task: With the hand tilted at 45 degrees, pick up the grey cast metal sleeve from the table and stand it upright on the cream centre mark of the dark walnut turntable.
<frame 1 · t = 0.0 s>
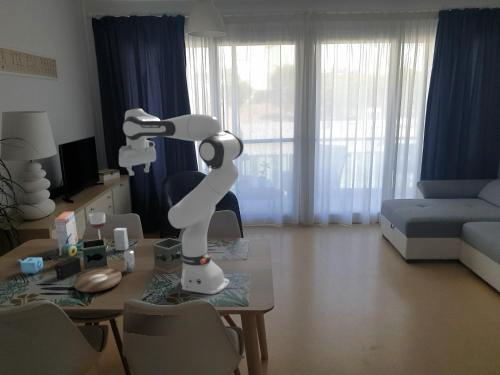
hand: (139, 173, 174), 48 cm above the table, tool pointing down, fingers open, 8 cm apart
turntable platter: (98, 279, 169), point 2 cm above the table, hinge at 0.0°
cast sleeve: (130, 270, 182), on the table
teapot: (31, 272, 183), on the table
cracker box: (69, 250, 210), on the table
decorative fish: (73, 261, 195), on the table
digital camera: (68, 274, 180), on the table
wineglass: (100, 247, 213), on the table
skincare box: (122, 249, 210), on the table
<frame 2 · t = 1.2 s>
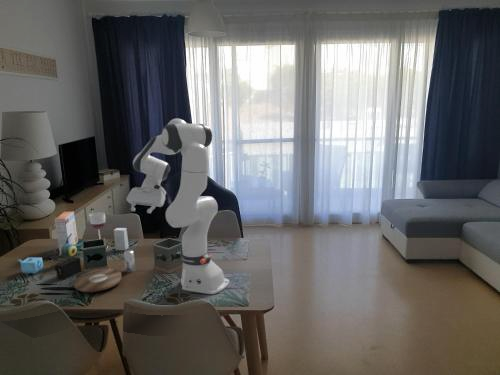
hand: (140, 211, 187), 27 cm above the table, tool tilted 45°, fingers open, 8 cm apart
nothing on the table moved.
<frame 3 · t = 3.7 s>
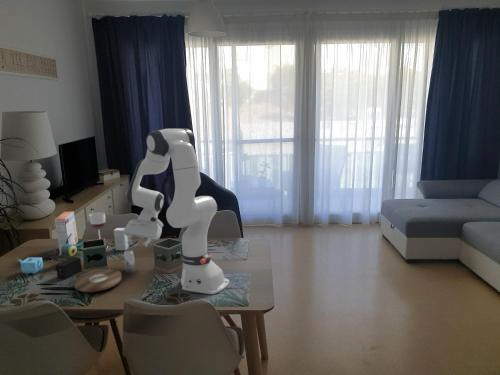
hand: (136, 244, 186), 11 cm above the table, tool tilted 45°, fingers open, 8 cm apart
nothing on the table moved.
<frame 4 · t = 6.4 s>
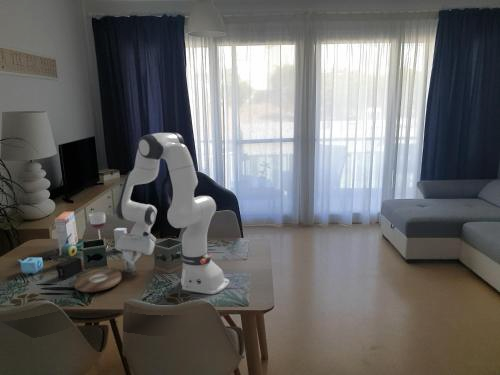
hand: (128, 260, 181), 6 cm above the table, tool tilted 45°, fingers closed on cast sleeve, 4 cm apart
cast sleeve: (130, 270, 182), on the table, touching gripper
everything else where it was.
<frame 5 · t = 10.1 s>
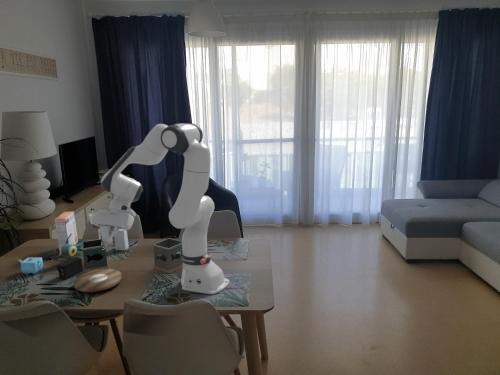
hand: (105, 235, 169), 22 cm above the table, tool tilted 45°, fingers closed on cast sleeve, 4 cm apart
cast sleeve: (108, 246, 171), point 16 cm above the table, touching gripper
when the fingers open (10 cm above the table, at t = 13.8 s): cast sleeve drops 1 cm, resting on turntable platter.
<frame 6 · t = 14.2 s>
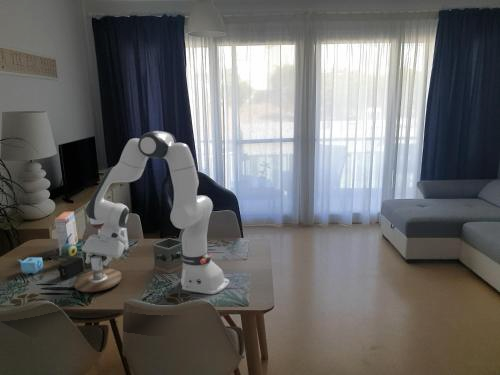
hand: (95, 264, 166), 10 cm above the table, tool tilted 45°, fingers open, 8 cm apart
turntable platter: (98, 279, 169), point 2 cm above the table, hinge at 0.0°, touching cast sleeve
cast sleeve: (98, 278, 168), point 3 cm above the table, touching turntable platter
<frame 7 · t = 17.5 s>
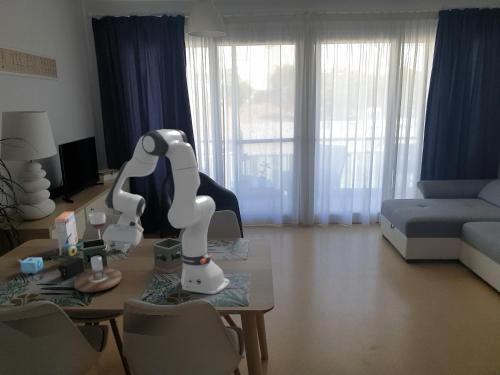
hand: (115, 251, 178), 11 cm above the table, tool tilted 45°, fingers open, 8 cm apart
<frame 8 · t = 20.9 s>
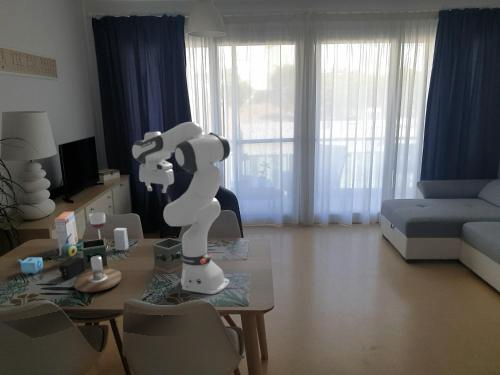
hand: (157, 191, 185), 37 cm above the table, tool pointing down, fingers open, 8 cm apart
at the end: cast sleeve 0.1 cm from the turntable platter (horizontally); cast sleeve point 3.0 cm above the table; cast sleeve tilted 0° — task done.
